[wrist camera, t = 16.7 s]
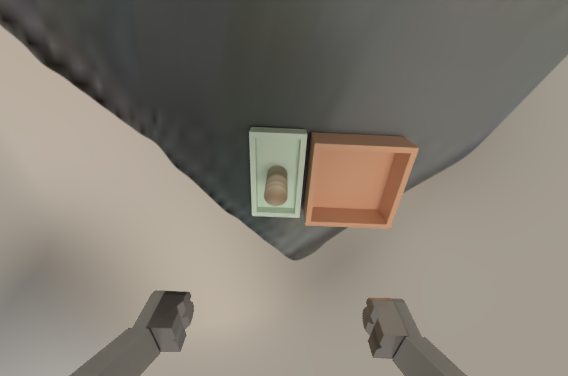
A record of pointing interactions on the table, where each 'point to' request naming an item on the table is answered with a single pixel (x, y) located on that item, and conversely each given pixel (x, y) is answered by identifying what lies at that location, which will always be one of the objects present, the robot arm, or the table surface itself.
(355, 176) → the orange hollow square box
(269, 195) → the birch cylinder
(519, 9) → the table surface
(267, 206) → the green tray
